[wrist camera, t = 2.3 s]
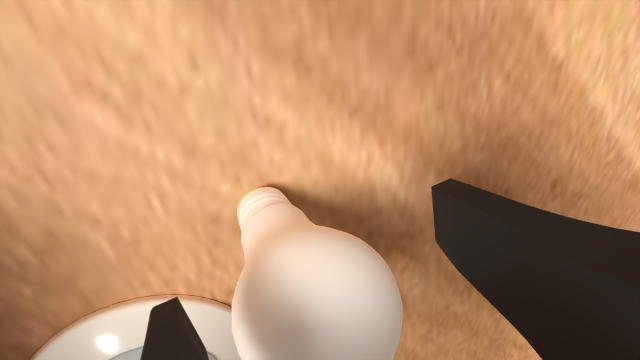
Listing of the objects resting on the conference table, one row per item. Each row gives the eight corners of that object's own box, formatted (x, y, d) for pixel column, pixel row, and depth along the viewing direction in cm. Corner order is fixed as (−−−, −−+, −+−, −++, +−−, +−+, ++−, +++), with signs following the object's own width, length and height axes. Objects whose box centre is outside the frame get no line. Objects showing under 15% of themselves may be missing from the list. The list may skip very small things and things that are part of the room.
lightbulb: (263, 268, 25) (349, 460, 17) (168, 219, 22) (213, 431, 13) (337, 184, 25) (469, 339, 16) (251, 120, 21) (360, 274, 12)
